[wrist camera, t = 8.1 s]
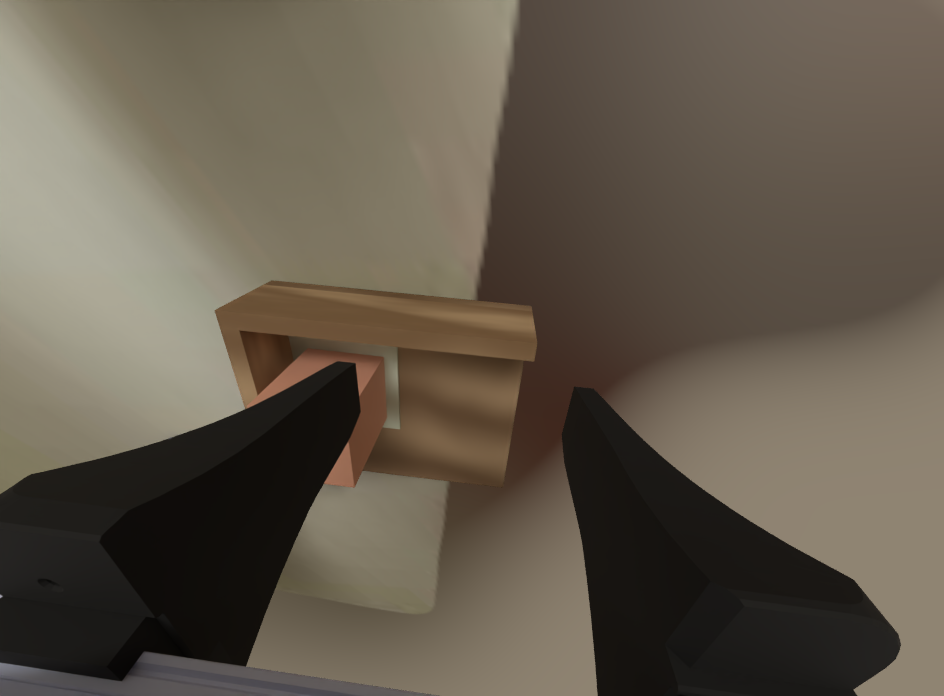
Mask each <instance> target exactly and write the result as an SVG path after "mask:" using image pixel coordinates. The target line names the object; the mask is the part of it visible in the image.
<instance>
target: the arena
mask: <svg viewBox="0 0 944 696" xmlns="http://www.w3.org/2000/svg"><path fill="white" fill-rule="evenodd" d="M215 313H216V316H217V320H218V323H219V326H220V329H221V332H222V336H223V339H224V342H225V345H226V349H227V352H228V355H229V358H230V361H231V365H232V368H233V371H234V374H235V377H236V381H237V384H238V387H239V390H240V393H241V397H242V400H243V403H244V406H245V409H247V405H248V404H249V403H250V402H252V401H253V400H254V399H255V398H256V397H257V396H258V395H259V394H260V393H261V392H262V391H263V390H264V389H265V388H266V387H267V386H268V385H269V384H270V383H272V382H273V381H274V380H275V379H276V378H277V377H278V376H279V375H280V374H281V373H282V372H283V371H284V370H285V369H286V368H287V367H288V366H289V365H290V364H292V363H293V362H294V361H295V360H296V359H297V358H298V357H299V356H300V355H301V354H302V353H303V352H304V351H305V350H306V349H307V348H311V349H320V350H328V351H337V352H346V353H355V354H363V355H372V356H381V357H384V368H385V388H386V407H387V419H386V421H385V423H384V425H383V427H382V429H381V432H380V434H379V436H378V438H377V440H376V442H375V444H374V447H373V449H372V451H371V453H370V455H369V457H368V460H367V462H366V464H365V466H364V468H363V470H362V471H370V472H379V473H387V474H395V475H403V476H411V477H420V478H428V479H436V480H444V481H452V482H460V483H469V484H477V485H485V486H493V487H501V488H502V487H503V484H504V478H505V472H506V465H507V460H508V454H509V447H510V441H511V435H512V429H513V424H514V418H515V412H516V405H517V400H518V393H519V387H520V381H521V375H522V369H523V363H524V360H525V361H534V359H535V354H536V348H537V340H536V339H537V338H536V332H535V326H534V320H533V314H532V308H531V306H526V305H515V304H505V303H495V302H485V301H475V300H465V299H454V298H444V297H434V296H424V295H414V294H404V293H393V292H383V291H373V290H363V289H353V288H343V287H332V286H322V285H312V284H302V283H292V282H282V281H270V282H268V283H266V284H264V285H262V286H260V287H258V288H257V289H255V290H253V291H251V292H249V293H247V294H245V295H243V296H241V297H239V298H237V299H235V300H233V301H231V302H230V303H228V304H226V305H224V306H222V307H220V308H218V309H216V310H215Z"/></svg>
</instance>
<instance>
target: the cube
mask: <svg viewBox="0 0 944 696" xmlns="http://www.w3.org/2000/svg"><path fill="white" fill-rule="evenodd" d="M337 361H342V362H351V363H356V371H357V380H358V390H359V399H360V408H361V413H360V415H359V418H358V420H357V423H356V426H355V428H354V430H353V433H352V435H351V437H350V439H349V441H348V443H347V445H346V446H345V448H344V450H343V451H342V453H341V455H340V457H339V458H338V460H337V462H336V464H335V465H334V467H333V469H332V470H331V472H330V474H329V476H328V477H327V479H326V481H325V482H324V484H330V485H338V486H346V487H353V488H354V487H355V485H356V483H357V481H358V479H359V477H360V475H361V472H362V470H363V468H364V466H365V464H366V462H367V460H368V457H369V455H370V453H371V451H372V449H373V447H374V444H375V442H376V440H377V438H378V436H379V434H380V432H381V429H382V427H383V425H384V423H385V421H386V419H387V407H386V388H385V368H384V357H381V356H372V355H363V354H355V353H346V352H337V351H328V350H320V349H311V348H307V349H306V350H305V351H304V352H303V353H302V354H301V355H300V356H299V357H298V358H297V359H296V360H295V361H294V362H293V363H292V364H290V365H289V366H288V367H287V368H286V369H285V370H284V371H283V372H282V373H281V374H280V375H279V376H278V377H277V378H276V379H275V380H274V381H273V382H272V383H270V384H269V385H268V386H267V387H266V388H265V389H264V390H263V391H262V392H261V393H260V394H259V395H258V396H257V397H256V398H255V399H254V400H253V401H252V402H250V403H249V404H248V405H247V408H249V407H251V406H253V405H255V404H257V403H259V402H261V401H263V400H265V399H267V398H269V397H271V396H273V395H275V394H277V393H279V392H281V391H283V390H285V389H287V388H289V387H290V386H292V385H294V384H296V383H298V382H300V381H301V380H303V379H305V378H307V377H309V376H310V375H312V374H314V373H316V372H318V371H319V370H321V369H323V368H325V367H327V366H329V365H331V364H333V363H335V362H337Z"/></svg>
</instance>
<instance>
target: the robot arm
mask: <svg viewBox="0 0 944 696" xmlns="http://www.w3.org/2000/svg"><path fill="white" fill-rule="evenodd" d="M360 413H361V408H360V399H359V390H358V380H357V371H356V363H351V362H342V361H337V362H335V363H333V364H331V365H329V366H327V367H325V368H323V369H321V370H319V371H318V372H316V373H314V374H312V375H310V376H309V377H307V378H305V379H303V380H301V381H300V382H298V383H296V384H294V385H292V386H290V387H289V388H287V389H285V390H283V391H281V392H279V393H277V394H275V395H273V396H271V397H269V398H267V399H265V400H263V401H261V402H259V403H257V404H255V405H253V406H251V407H249V408H247V409H245V410H243V411H240V412H238V413H236V414H234V415H231V416H229V417H226V418H224V419H221V420H219V421H217V422H214V423H212V424H209V425H206V426H204V427H201V428H198V429H195V430H192V431H189V432H187V433H184V434H181V435H178V436H175V437H172V438H169V439H167V440H163V441H160V442H157V443H154V444H150V445H147V446H144V447H141V448H137V449H134V450H130V451H126V452H123V453H119V454H116V455H112V456H108V457H104V458H100V459H96V460H92V461H88V462H84V463H79V464H75V465H71V466H66V467H62V468H58V469H54V470H49V471H45V472H40V473H35V474H31V475H29V476H27V477H26V478H24V479H22V480H21V481H19V482H18V483H17V484H15V485H14V486H12V487H11V488H9V489H8V490H6V491H5V492H3V493H2V494H0V696H437V695H431V694H424V693H417V692H411V691H404V690H398V689H391V688H384V687H378V686H371V685H364V684H357V683H351V682H344V681H338V680H331V679H325V678H318V677H311V676H305V675H298V674H291V673H285V672H278V671H271V670H265V669H258V668H251V667H246V665H247V662H248V659H249V656H250V653H251V651H252V648H253V645H254V643H255V640H256V637H257V634H258V632H259V629H260V626H261V623H262V621H263V618H264V615H265V613H266V610H267V608H268V605H269V603H270V600H271V598H272V595H273V593H274V590H275V588H276V585H277V583H278V580H279V578H280V575H281V573H282V570H283V568H284V566H285V563H286V561H287V559H288V556H289V554H290V552H291V549H292V547H293V545H294V542H295V540H296V538H297V536H298V533H299V531H300V529H301V527H302V525H303V522H304V520H305V518H306V516H307V514H308V511H309V509H310V507H311V506H312V504H313V502H314V500H315V498H316V496H317V494H318V493H319V491H320V489H321V488H322V486H323V484H324V482H325V481H326V479H327V477H328V476H329V474H330V472H331V470H332V469H333V467H334V465H335V464H336V462H337V460H338V458H339V457H340V455H341V453H342V451H343V450H344V448H345V446H346V445H347V443H348V441H349V439H350V437H351V435H352V433H353V430H354V428H355V426H356V423H357V420H358V418H359V415H360ZM562 442H563V453H564V463H565V467H566V472H567V477H568V481H569V485H570V490H571V494H572V498H573V503H574V507H575V511H576V515H577V520H578V524H579V529H580V534H581V539H582V545H583V552H584V560H585V568H586V575H587V583H588V593H589V602H590V610H591V621H592V631H593V642H594V653H595V665H596V679H597V692H598V696H857V695H856V694H855V692H854V690H853V689H855V688H856V687H858V686H859V685H861V684H862V683H864V682H865V681H867V680H868V679H870V678H871V677H873V676H874V675H876V674H877V673H879V672H880V671H882V670H883V669H885V668H886V667H887V666H888V665H890V664H891V663H892V662H893V661H894V660H895V659H896V657H897V655H898V653H899V650H900V646H901V643H900V639H899V635H898V633H897V632H896V631H895V630H894V628H893V627H892V626H891V625H890V624H889V622H888V621H887V620H886V619H885V618H884V616H883V615H882V614H881V613H880V611H879V610H878V609H877V608H876V606H875V605H874V604H873V603H872V602H871V600H870V599H869V598H868V597H867V595H866V594H865V593H864V592H863V591H862V589H861V588H860V587H859V586H858V584H857V583H856V582H855V581H854V580H853V579H851V578H850V577H848V576H846V575H844V574H842V573H840V572H838V571H837V570H834V569H833V568H831V567H829V566H827V565H825V564H824V563H821V562H820V561H818V560H816V559H814V558H813V557H811V556H809V555H807V554H805V553H803V552H801V551H800V550H798V549H796V548H794V547H792V546H791V545H789V544H787V543H785V542H784V541H782V540H780V539H779V538H777V537H775V536H774V535H772V534H770V533H768V532H767V531H765V530H764V529H762V528H760V527H759V526H757V525H755V524H754V523H752V522H750V521H749V520H747V519H746V518H744V517H743V516H741V515H740V514H738V513H736V512H735V511H733V510H732V509H730V508H729V507H728V506H726V505H725V504H723V503H722V502H720V501H719V500H717V499H716V498H715V497H713V496H712V495H710V494H709V493H707V492H706V491H705V490H703V489H702V488H700V487H699V486H698V485H696V484H695V483H694V482H692V481H691V480H690V479H688V478H687V477H686V476H685V475H683V474H682V473H681V472H680V471H678V470H677V469H676V468H675V467H673V466H672V465H671V464H670V463H669V462H667V461H666V460H665V459H664V458H663V457H662V456H660V455H659V454H658V453H657V452H656V451H655V450H654V449H653V448H652V447H650V446H649V445H648V444H647V443H646V442H645V441H643V439H642V438H641V437H640V436H639V435H638V434H637V433H636V432H635V431H634V430H633V429H632V428H631V427H630V426H629V425H628V424H627V423H626V422H625V421H624V420H623V419H622V418H621V417H620V416H619V415H618V414H617V413H616V412H615V411H614V410H613V409H612V408H611V407H610V405H609V404H608V403H607V402H606V401H605V400H604V399H603V398H602V397H601V396H600V395H599V394H598V393H597V392H596V391H595V390H594V389H591V388H581V387H574V390H573V394H572V398H571V401H570V405H569V409H568V413H567V417H566V421H565V425H564V428H563V432H562Z"/></svg>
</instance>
